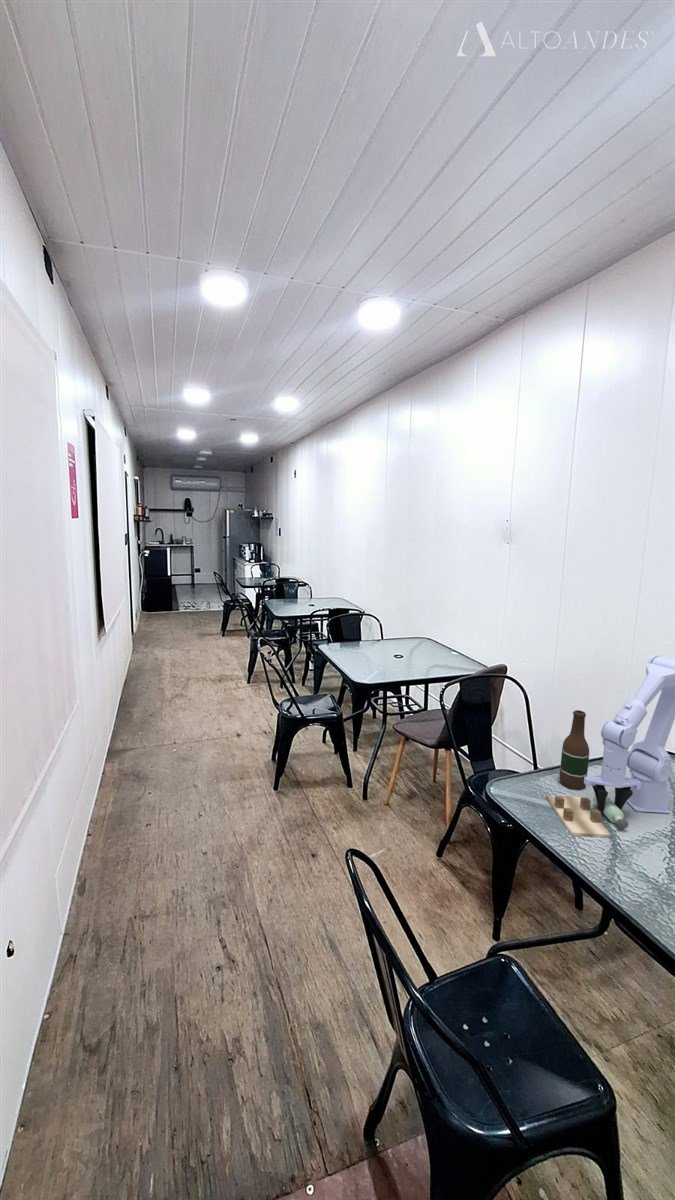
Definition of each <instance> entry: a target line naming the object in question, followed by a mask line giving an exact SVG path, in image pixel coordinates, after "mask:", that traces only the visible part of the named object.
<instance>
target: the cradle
mask: <svg viewBox="0 0 675 1200" xmlns="http://www.w3.org/2000/svg"><path fill="white" fill-rule="evenodd" d="M545 799H546V800H547V802H548V803H549V804H550V807H552V809H553V811H554V812H555V813H556V815H557V814H558V815H557V816H558V817H559V819H560V820H561V822H562V823H563V825H564V826H565V828H566V829H567V830H568V832H569V834H570V835H571V836H576V837H591V836H593V838H595V837H596V838H609V839H611V838H612V833H610V831H609V830H608V829H607V828H606V827H605V825H604V824H603V823H602V822H601V817H602V812H601V811H600V810H599V809H591V800H590V798H589V797H581V796H566V795H565V796H564V795H551V794H550V795H546V794H545Z"/></svg>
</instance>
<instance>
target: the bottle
mask: <svg viewBox="0 0 675 1200" xmlns="http://www.w3.org/2000/svg"><path fill="white" fill-rule="evenodd" d="M593 803H595V806H597V799H596V795H595V794H594V795H593ZM602 813H603V814H604V815H605V817H607V818H608V820H609V821H610V822H611V823H612V824H617V826H618V827H619V829H623V830H624V829H627V828H628V827H629V822H628V821H627V819H625V814H624V812H623V811H622V810H620V809H619V808H618V807H617V806H616V805H615V804H614V801H612V799H611V798H610V797H609V796H608V795H607V797H606V801H605V808H604V812H602Z"/></svg>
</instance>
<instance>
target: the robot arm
mask: <svg viewBox="0 0 675 1200" xmlns="http://www.w3.org/2000/svg"><path fill="white" fill-rule="evenodd" d="M645 673H646V676H645V678H644V680H643V682H642V683H641V685H640V687H639V689H638V691H637V692H636V694H635V696H634V697H633V699H630V700H626V701H625V703H623V705H622V707H621V708H620V710H619V711H618V712H617V713H616V714H615V716H614V717H613V719H612V720H608V721H606V722H605V723H604V724H603V726H602V727H601V730H600V737H601V738H602V743H601V744H602V745H603V754H602V756H603V757H602V763H601V765H602V766H601V773H600V774H599V775H598V774H597V775H592V776H587V777H584V784H585V785H586V787H592V789H593V792H594V795H596V799H597V805H596V806H597V810H599V811H600V813H603V812H604V808H605V801H606V797H607V796H608V795H609V792H608V791H607V790H606V787H611V788H614V801H613V803H614V804H615V805H616V806H617V807H618V808H619V809H620V810H621V811H622V810H623V808H624V806H625V804H626V803H627V804H629V806H631V808H633V810H634V811H635V812H641V813H642V812H643V813H646V812H647V813H661V814H670V813H671V812H670V810H669V805H670V798H671V792H672V791H671V790H672V789H671V785H670V783H669V781H668V778H669V776H670V775H671V765H672V760H673V758H672V757H671V755H670V754H669V753H668V752H667V750H666V749H665V747H666V744H667V741H668V739H669V736H670V733H671V730H672V727H673V725H674V721H675V659H671V658H667V657H663V656H661V655H656V654H655V655H653V656H652V657H651V658H650V659H649V660H648V662H647V665H646V667H645ZM659 693H660V695H659V697H658V699H657V703H656V705H655V708H654V711H653V714H652V716H651V719H650V722H649V725H648V728H647V730H646V734H645V736H644V739H643V740H641V741H639V742H635V740H636V735H637V733H638V727H639V726H640V725H641V723H642V722H643V720H644V719H645V718H646V716H647V714H648V710H647V707H648V706H649V704H651V702H652V701H653V700H654V699H655V698H656V696H657V695H658V694H659ZM631 746H632V747H631ZM630 747H631V749H630V750H629V748H630ZM627 768H628V769H629V771H628V772H629V773H631V777H630V778H629V777H626V773H627V772H626V771H627Z"/></svg>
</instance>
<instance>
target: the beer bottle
mask: <svg viewBox="0 0 675 1200" xmlns="http://www.w3.org/2000/svg"><path fill="white" fill-rule="evenodd" d="M572 714H573V716H572V717H573V718H572V722H571V726H570V727H571V729H570V731H569V734H568V735H567V736H566V738H564V740H563V742H562V748H561V758H560V765H559V766H560V768H559V782H560V785H561V786H564V787H565V788H567V789H569V790H574V791H581V790H583V789H585V788H586V787H587V786H586V785H585V784H584V777H588V769H589V763H590V761H589V760H590V748H589V747H590V746H589V744H588V742H587V740H586V738H585V724H586V723H585V721H586V719H585V718H586V717H587V714H586V712H585V711H583V710H579V709H575V710H573V712H572Z"/></svg>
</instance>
